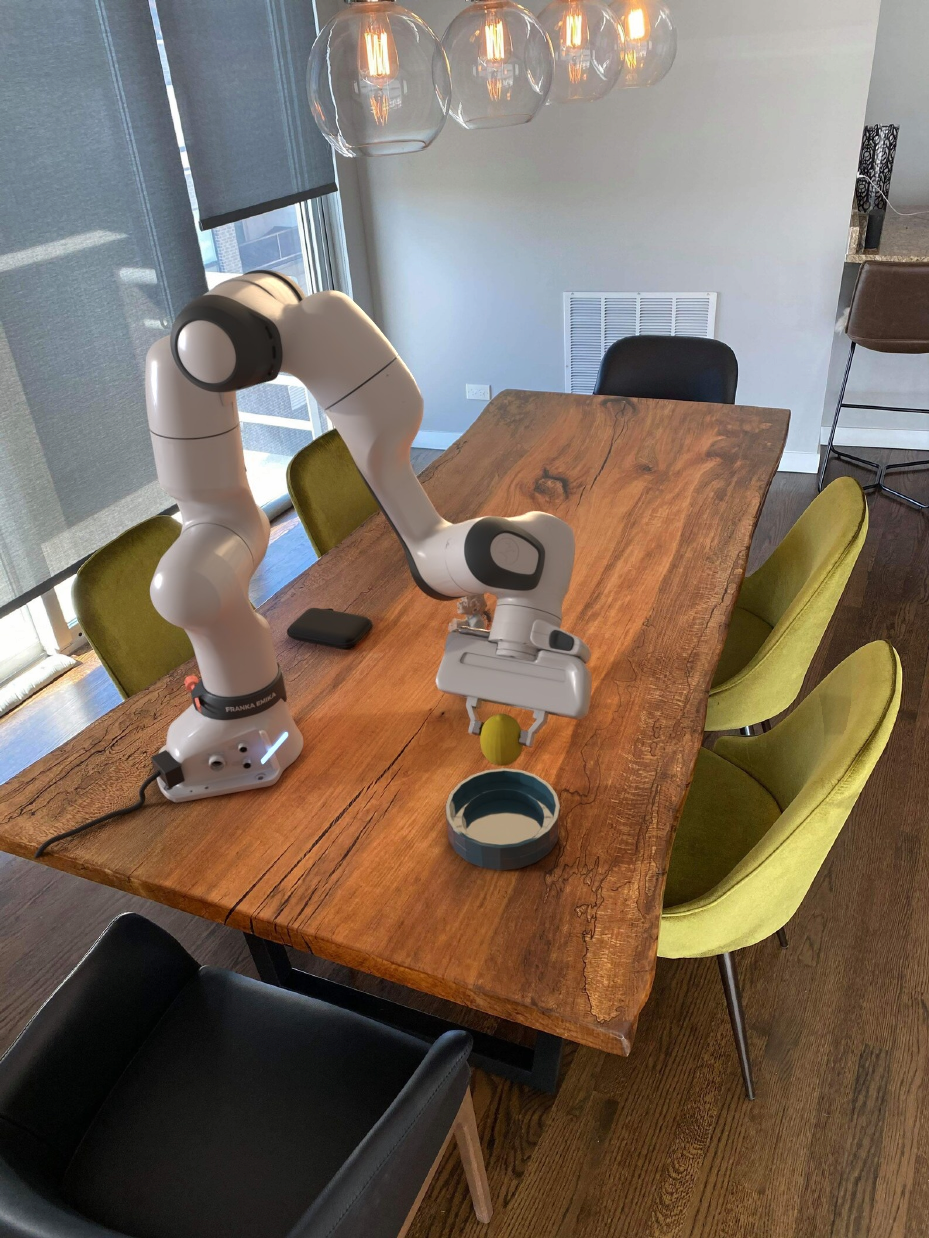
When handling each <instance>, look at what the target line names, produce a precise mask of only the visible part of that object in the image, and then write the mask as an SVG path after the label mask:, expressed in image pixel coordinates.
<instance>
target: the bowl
mask: <svg viewBox="0 0 929 1238" xmlns="http://www.w3.org/2000/svg"><path fill="white" fill-rule="evenodd" d="M444 806H445V807H444V809H445V818H446V828H447V838H448V839H447V840H448V842H449V844H450V845H451V847H452V848H453V850H454V852H455V853H456V854H457V855H459V856H460V857H461V858H462V859H463V860H464V861H466V862H468V863H470V864H473V865H475V866H478V867H480V868H482V869H489V870H497V871H506V870H507V871H508V870H517V869H522V868H524V867H527V866H530V865H532V864H533V865H534V864H536V863H538V862H539V861H540V860H542V859H543V858H544V857H545V856H547V855H548V854H550V853H551V851H552V850H553V849H554V847H555V845H556V844H557V843H558V842H559V837H560V832H561V804H560V801H559V796H558V794H557V792H556V791H555V789H554V788H553V787H552V786H551V784H550V783H549V782H548V781H546V780H545V779H544V778H541V777H540V776H539V775H537V774H534V773H531V772H529V771H526V770H523V769H515V768H507V767H503V768H491V769H486V770H483V771H480V772H476V773H474V774H471V775H469V776H468V777H466V778H465V779H463V780H461V781H460V782H458V783H457V784H456V786H455V787H454V788H453V789H452V790H451V791H450V792H449V795H448V796H447V800H446V802H445V805H444Z"/></svg>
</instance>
